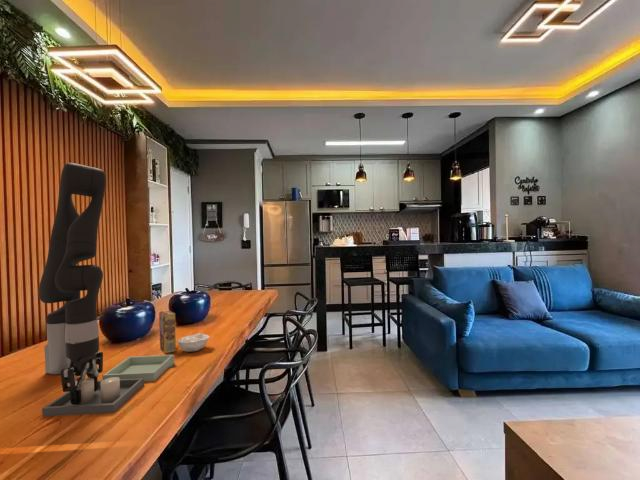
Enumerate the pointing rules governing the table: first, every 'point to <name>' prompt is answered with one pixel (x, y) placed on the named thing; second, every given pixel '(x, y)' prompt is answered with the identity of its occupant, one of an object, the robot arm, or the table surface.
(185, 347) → the cell model
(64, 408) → the parts tray
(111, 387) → the pebble
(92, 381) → the pebble
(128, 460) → the table surface
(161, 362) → the shallow green tray
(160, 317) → the candy box
